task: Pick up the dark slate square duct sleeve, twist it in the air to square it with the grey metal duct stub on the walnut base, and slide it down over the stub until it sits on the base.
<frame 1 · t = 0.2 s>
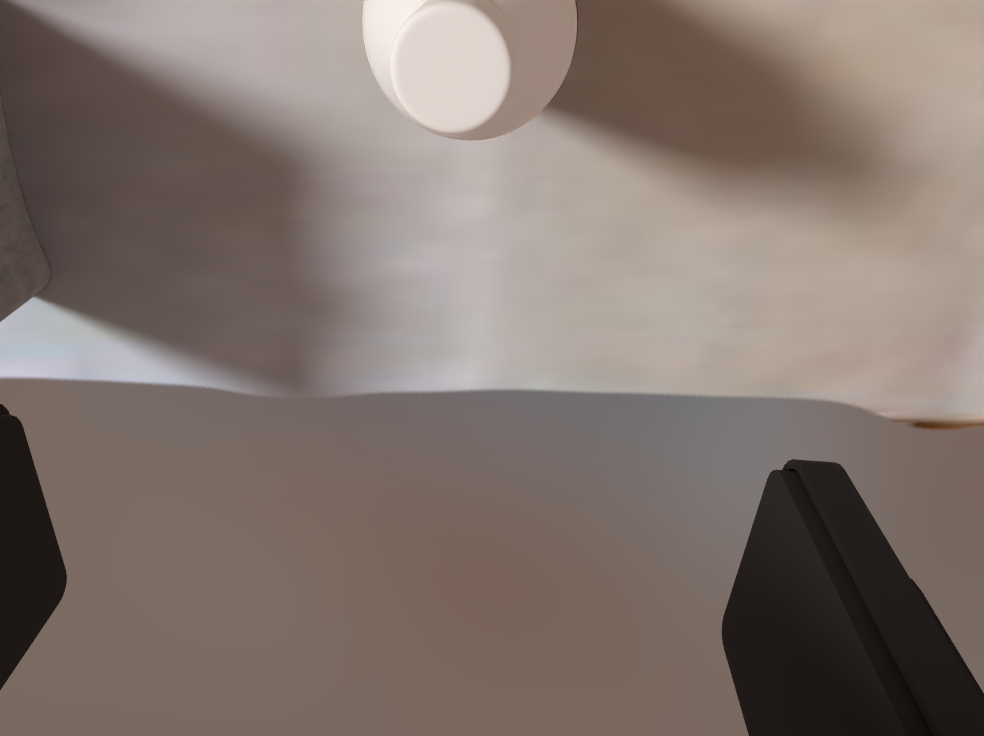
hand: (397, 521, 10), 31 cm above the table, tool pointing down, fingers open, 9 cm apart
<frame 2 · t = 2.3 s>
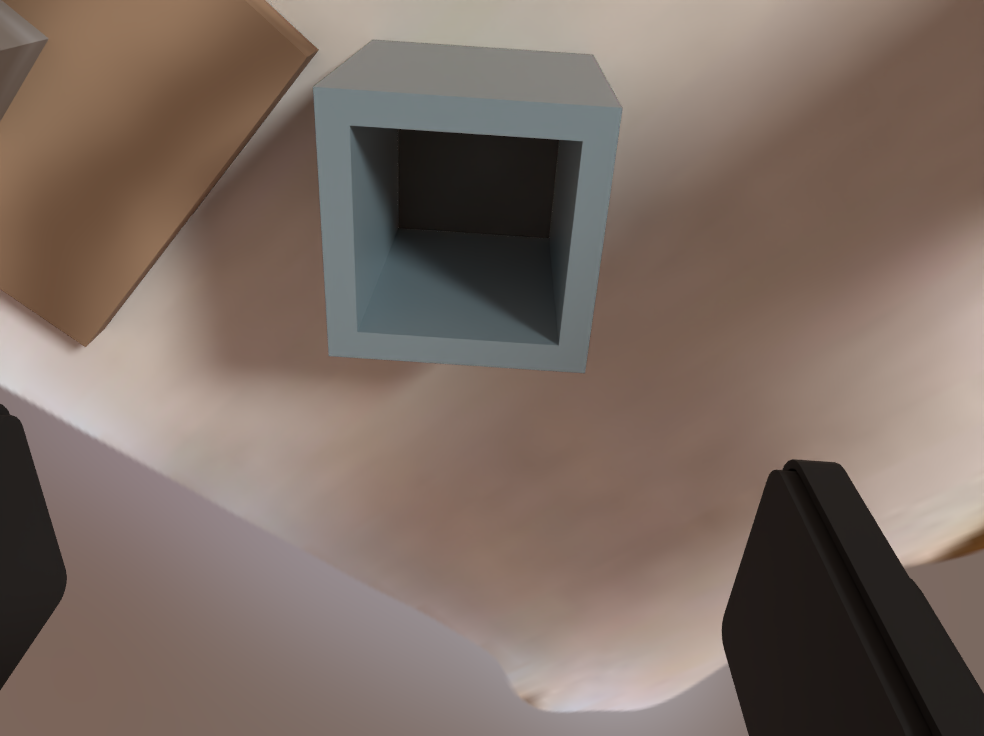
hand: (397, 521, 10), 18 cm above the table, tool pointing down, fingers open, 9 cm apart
duct sleeve: (477, 157, 26), on the table
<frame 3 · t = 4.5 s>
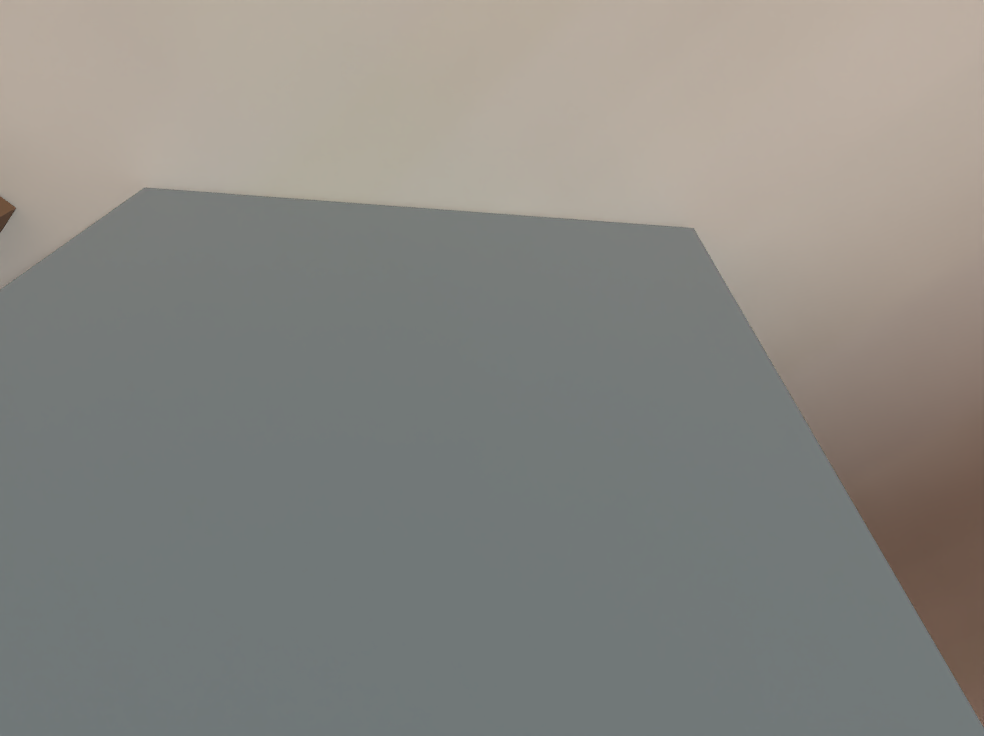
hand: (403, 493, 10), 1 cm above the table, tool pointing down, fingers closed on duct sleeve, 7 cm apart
duct sleeve: (415, 432, 11), on the table, touching gripper
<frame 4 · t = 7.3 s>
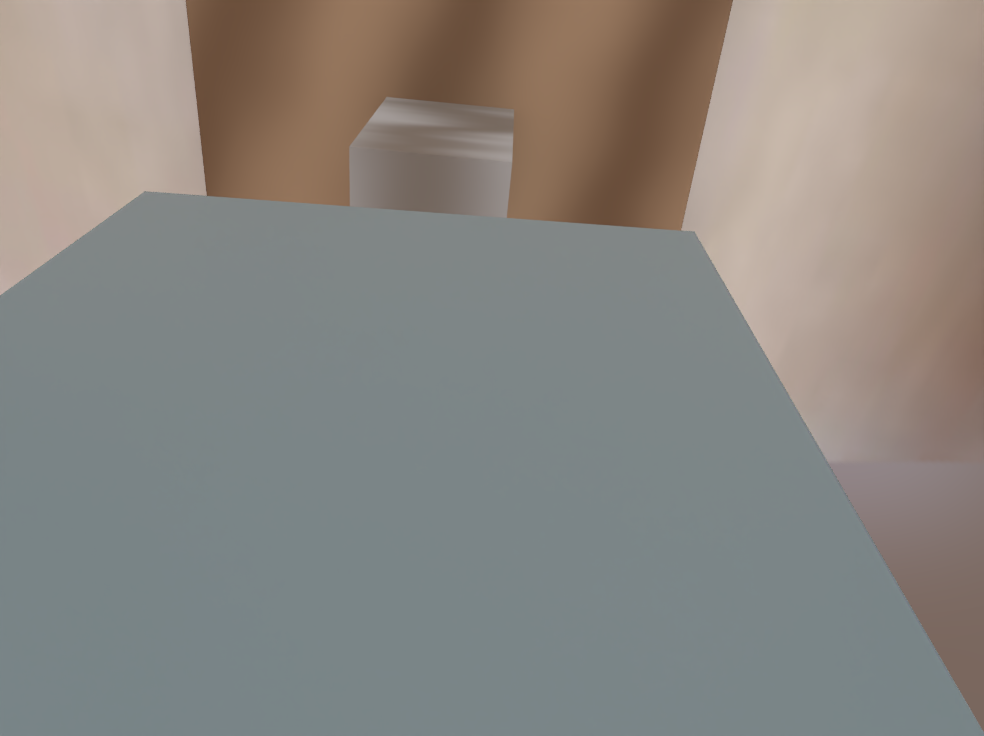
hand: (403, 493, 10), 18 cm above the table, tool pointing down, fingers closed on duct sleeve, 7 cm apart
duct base: (450, 154, 26), on the table
duct sleeve: (416, 435, 11), point 17 cm above the table, touching gripper
when the fingers open (4 cm above the table, at t = 10.4 s): duct sleeve drops 1 cm, resting on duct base.
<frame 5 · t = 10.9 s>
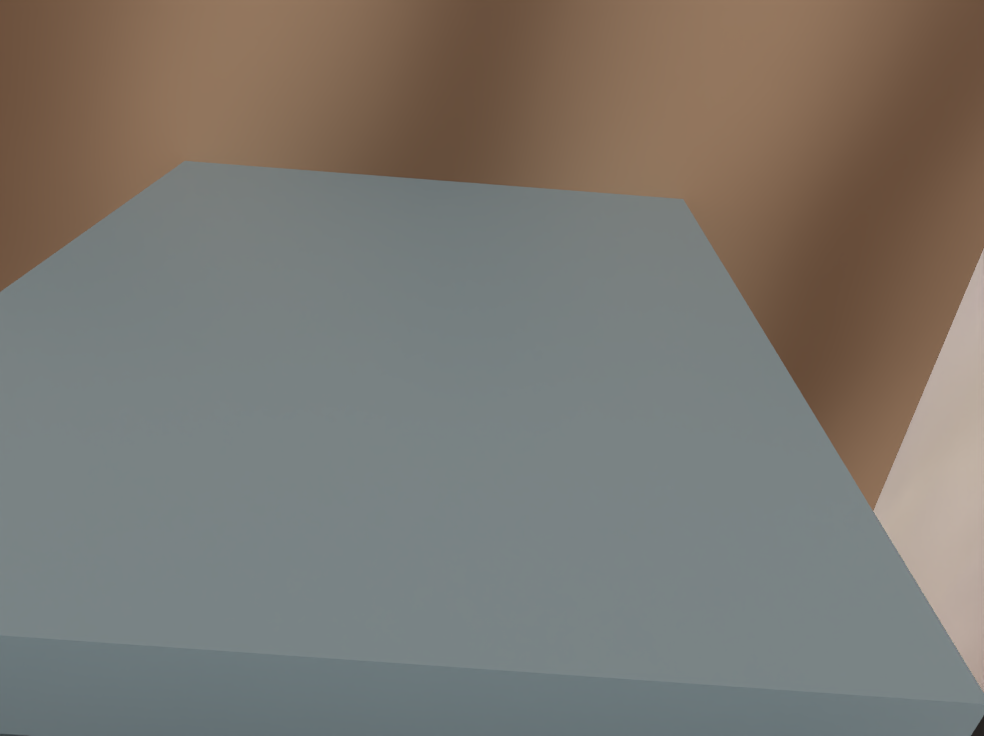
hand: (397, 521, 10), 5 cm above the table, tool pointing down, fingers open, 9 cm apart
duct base: (432, 348, 14), on the table
duct sleeve: (428, 391, 12), point 1 cm above the table, touching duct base
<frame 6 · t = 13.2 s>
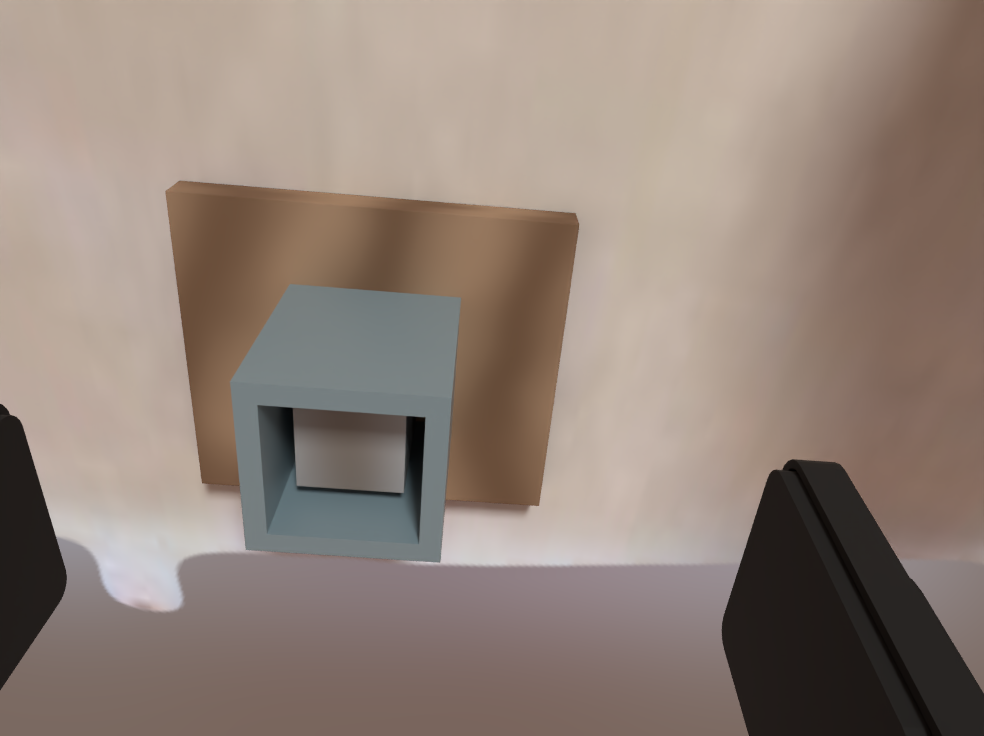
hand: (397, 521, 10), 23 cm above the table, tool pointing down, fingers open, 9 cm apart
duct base: (377, 350, 34), on the table
duct sleeve: (374, 365, 33), point 1 cm above the table, touching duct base
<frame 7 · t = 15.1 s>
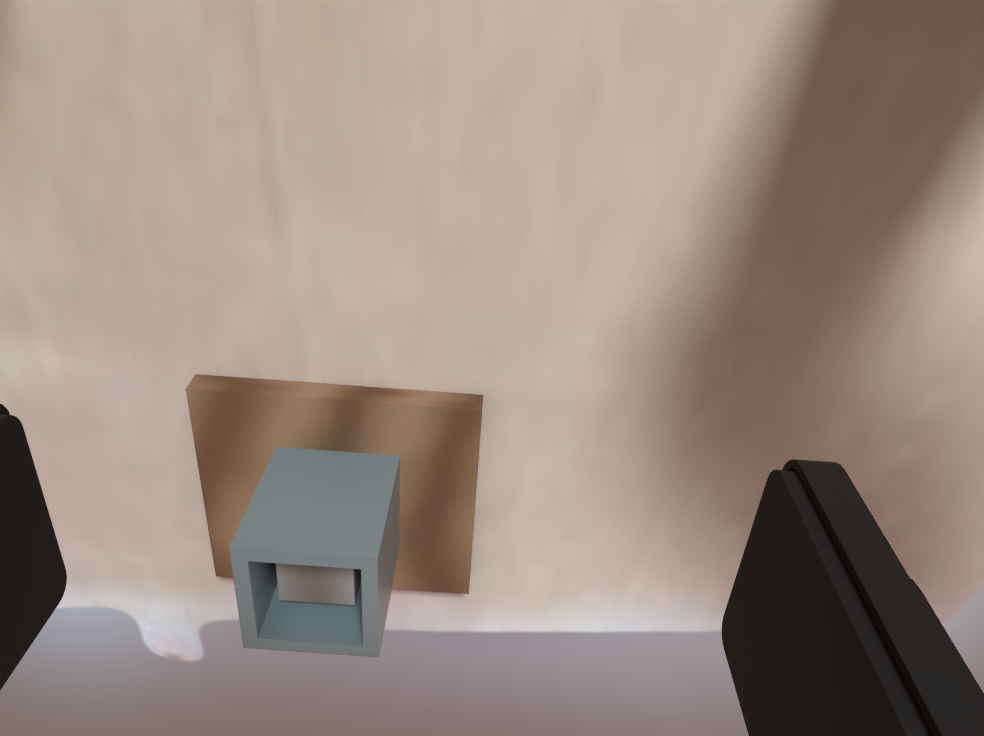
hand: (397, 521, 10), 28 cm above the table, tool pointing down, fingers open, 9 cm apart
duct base: (343, 483, 46), on the table
duct sleeve: (340, 499, 44), point 1 cm above the table, touching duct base
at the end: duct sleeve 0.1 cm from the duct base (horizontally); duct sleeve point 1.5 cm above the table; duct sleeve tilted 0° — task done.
